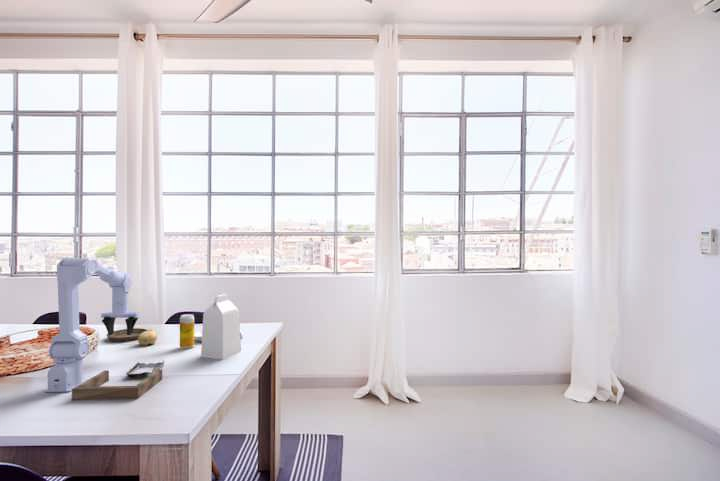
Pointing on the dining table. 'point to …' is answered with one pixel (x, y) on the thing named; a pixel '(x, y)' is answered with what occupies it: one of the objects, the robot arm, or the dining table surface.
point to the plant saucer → (125, 335)
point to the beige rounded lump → (147, 337)
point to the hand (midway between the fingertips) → (120, 334)
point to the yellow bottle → (186, 331)
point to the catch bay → (113, 388)
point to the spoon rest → (199, 335)
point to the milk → (221, 329)
